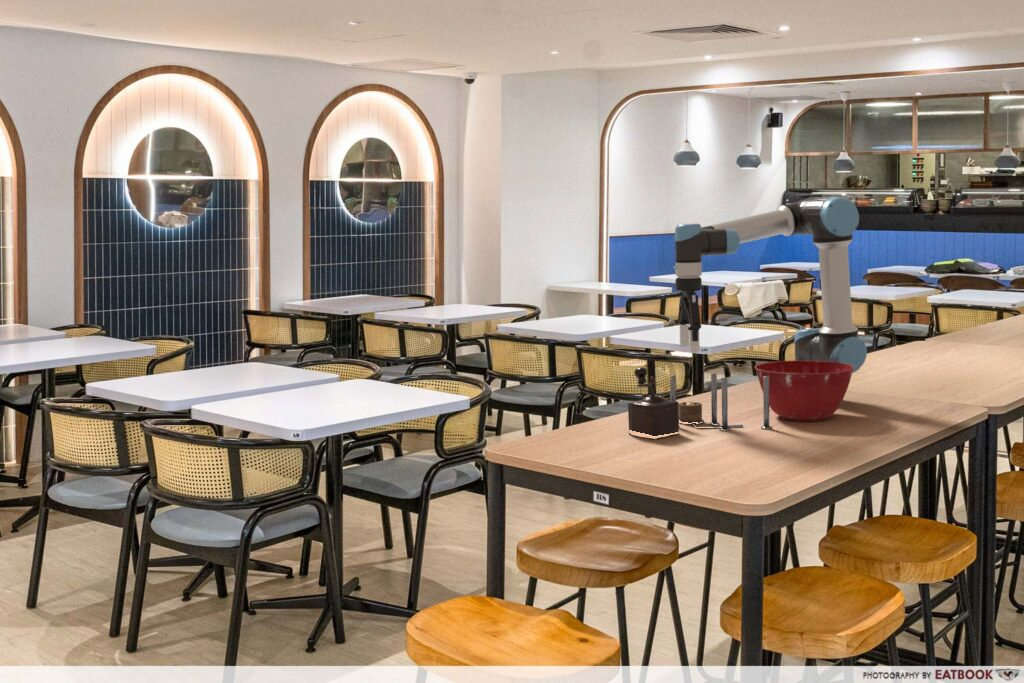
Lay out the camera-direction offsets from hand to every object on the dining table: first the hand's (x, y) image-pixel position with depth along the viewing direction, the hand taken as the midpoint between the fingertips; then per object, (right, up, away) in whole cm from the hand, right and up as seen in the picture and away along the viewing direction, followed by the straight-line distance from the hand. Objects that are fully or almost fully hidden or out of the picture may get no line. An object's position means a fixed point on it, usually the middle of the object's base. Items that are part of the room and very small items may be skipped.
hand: (689, 349), depth 336 cm
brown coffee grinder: (-13, -24, -11) cm, 29 cm away
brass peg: (+1, -22, +3) cm, 22 cm away
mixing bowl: (+35, -20, +5) cm, 41 cm away
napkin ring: (+1, -21, +3) cm, 21 cm away
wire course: (+7, -23, -7) cm, 25 cm away
